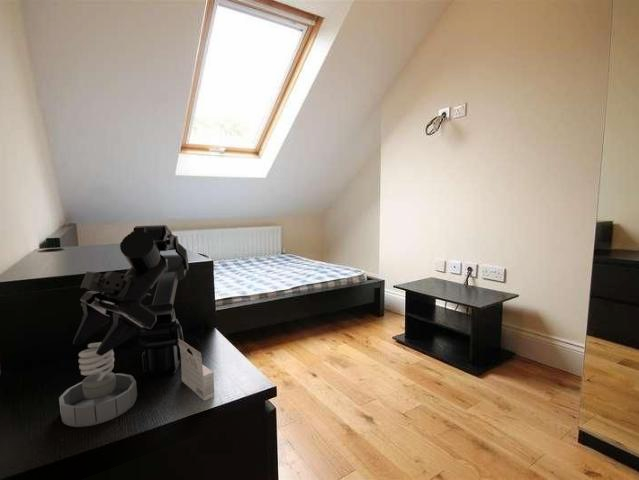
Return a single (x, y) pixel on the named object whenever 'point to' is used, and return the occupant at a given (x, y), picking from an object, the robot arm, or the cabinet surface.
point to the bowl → (87, 413)
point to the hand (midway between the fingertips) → (86, 349)
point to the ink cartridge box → (196, 372)
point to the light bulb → (97, 373)
